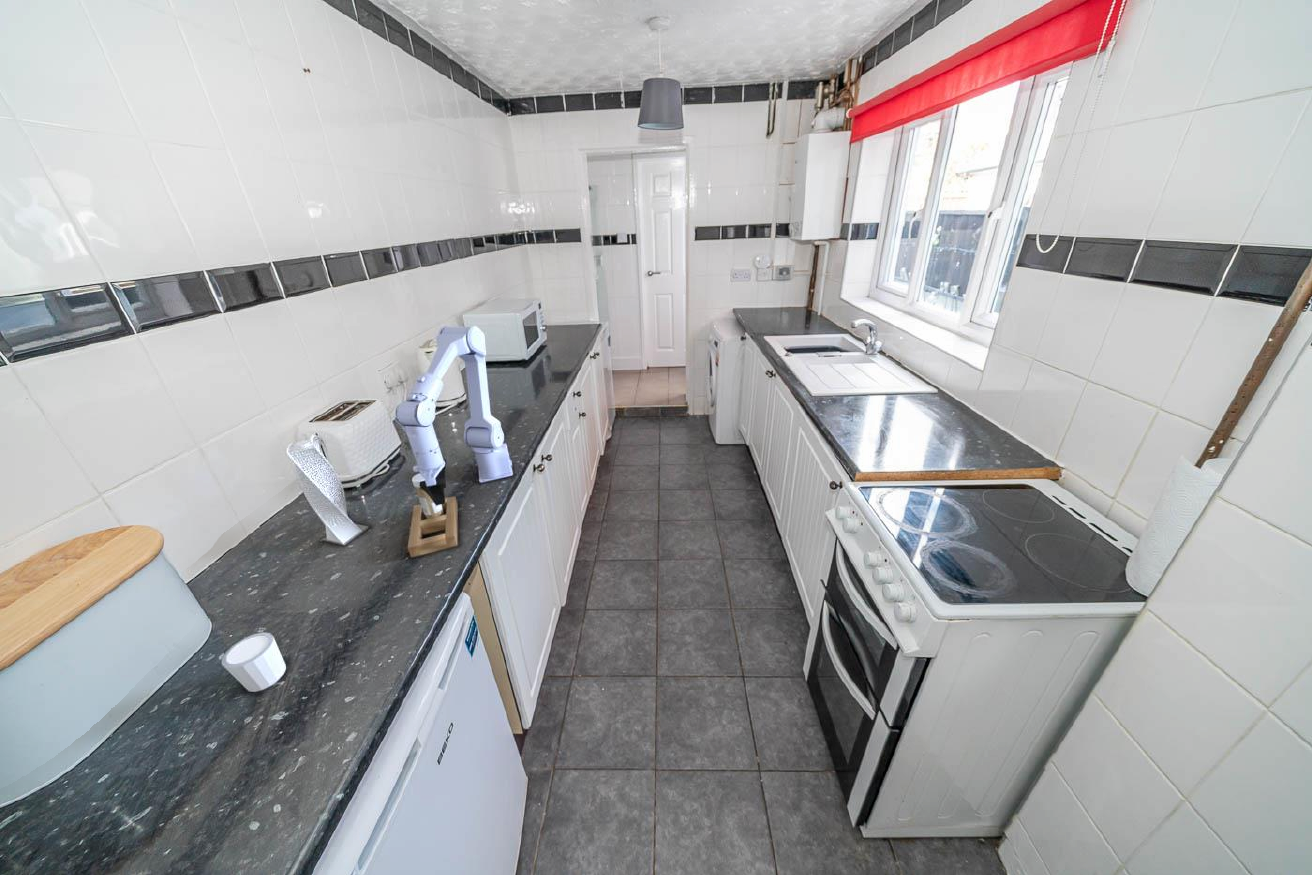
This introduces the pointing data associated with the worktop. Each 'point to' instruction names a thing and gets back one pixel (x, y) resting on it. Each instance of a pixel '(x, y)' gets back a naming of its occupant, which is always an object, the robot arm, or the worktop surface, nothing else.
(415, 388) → the robot arm
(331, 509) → the skyscraper
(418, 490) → the sprinkles bottle
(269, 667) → the white faceted cup
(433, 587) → the worktop surface
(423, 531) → the holder
